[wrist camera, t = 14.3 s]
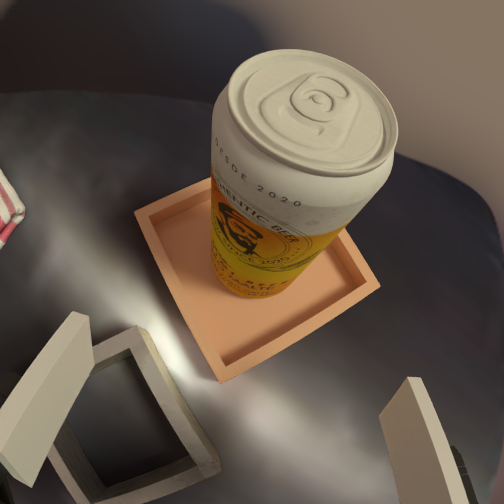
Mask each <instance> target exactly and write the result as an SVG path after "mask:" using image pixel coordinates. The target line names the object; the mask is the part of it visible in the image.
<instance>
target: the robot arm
mask: <svg viewBox="0 0 504 504" xmlns="http://www.w3.org/2000/svg"><path fill="white" fill-rule="evenodd" d="M94 365H95V363H94V356H93V349H92V341H91V333H90V324H89V316H86V315H83V314H80V313H77V312H74V311H72V312H71V313H70V315H69V316H68V317H67V318H66V320H65V321H64V322H63V323H62V325H61V326H60V327H59V328H58V330H57V331H56V332H55V334H54V335H53V336H52V337H51V339H50V340H49V341H48V343H47V344H46V345H45V347H44V348H43V349H42V351H41V352H40V353H39V355H38V356H37V357H36V359H35V360H34V361H33V363H32V364H31V365H30V367H29V368H28V370H27V371H26V372H25V374H24V375H23V377H22V376H20V375H18V374H16V373H14V372H11V373H10V374H8V375H7V376H5V377H3V378H2V379H1V380H0V504H14V501H13V498H12V495H11V492H10V488H9V485H8V482H7V479H6V475H7V473H8V472H9V473H10V474H11V475H12V476H13V477H14V478H15V479H17V480H18V481H20V482H22V483H24V484H26V485H27V486H29V487H31V488H32V486H33V484H34V482H35V480H36V477H37V475H38V473H39V471H40V469H41V467H42V464H43V462H44V460H45V458H46V456H47V454H48V452H49V450H50V448H51V446H52V444H53V442H54V440H55V438H56V436H57V434H58V432H59V430H60V428H61V426H62V424H63V422H64V420H65V418H66V416H67V414H68V412H69V410H70V409H71V407H72V405H73V403H74V401H75V399H76V397H77V396H78V394H79V392H80V390H81V388H82V386H83V385H84V383H85V381H86V379H87V377H88V376H89V374H90V372H91V370H92V369H93V367H94ZM379 419H380V423H381V426H382V430H383V434H384V437H385V441H386V445H387V449H388V453H389V457H390V461H391V465H392V469H393V473H394V477H395V482H396V486H397V491H398V495H399V500H400V504H478V502H477V499H476V496H475V493H474V490H473V487H472V484H471V481H470V478H469V475H467V473H468V472H467V470H466V467H464V465H465V464H464V461H463V459H462V456H461V454H460V453H459V452H458V450H457V449H456V448H455V447H454V446H449V444H448V441H447V439H446V436H445V434H444V431H443V429H442V426H441V424H440V421H439V419H438V416H437V414H436V412H435V409H434V407H433V404H432V402H431V400H430V397H429V395H428V393H427V391H426V388H425V386H424V384H423V382H422V379H421V378H417V377H407V378H406V379H405V381H404V382H403V384H402V385H401V387H400V388H399V389H398V391H397V392H396V394H395V395H394V396H393V398H392V399H391V400H390V402H389V403H388V404H387V406H386V407H385V408H384V410H383V411H382V412H381V414H380V415H379Z"/></svg>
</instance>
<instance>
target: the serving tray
mask: <svg viewBox="0 0 504 504" xmlns="http://www.w3.org/2000/svg"><path fill="white" fill-rule="evenodd" d="M134 214H135V216H136V218H137V221H138V223H139V225H140V228H141V230H142V232H143V234H144V237H145V239H146V241H147V243H148V245H149V248H150V250H151V252H152V254H153V256H154V258H155V261H156V263H157V265H158V267H159V269H160V271H161V273H162V275H163V277H164V279H165V282H166V284H167V286H168V288H169V290H170V292H171V294H172V296H173V298H174V300H175V302H176V304H177V306H178V308H179V310H180V312H181V313H182V315H183V317H184V319H185V321H186V323H187V325H188V327H189V329H190V331H191V333H192V334H193V336H194V338H195V340H196V342H197V344H198V345H199V347H200V349H201V351H202V353H203V355H204V356H205V358H206V360H207V362H208V364H209V365H210V367H211V369H212V371H213V372H214V374H215V376H216V378H217V379H218V381H219V383H220V384H222V383H224V382H226V381H228V380H230V379H232V378H233V377H235V376H237V375H239V374H241V373H243V372H244V371H246V370H248V369H250V368H252V367H253V366H255V365H257V364H259V363H261V362H262V361H264V360H266V359H268V358H269V357H271V356H273V355H274V354H276V353H278V352H280V351H281V350H283V349H285V348H286V347H288V346H290V345H291V344H293V343H295V342H296V341H298V340H300V339H301V338H303V337H304V336H306V335H308V334H309V333H311V332H313V331H314V330H316V329H317V328H319V327H320V326H322V325H324V324H325V323H327V322H328V321H330V320H331V319H333V318H334V317H336V316H338V315H339V314H341V313H342V312H344V311H345V310H347V309H348V308H350V307H351V306H353V305H354V304H356V303H357V302H359V301H360V300H361V299H363V298H364V297H366V296H367V295H369V294H370V293H372V292H373V291H374V290H376V289H377V288H379V287H380V284H379V283H378V281H377V279H376V278H375V276H374V274H373V273H372V271H371V269H370V268H369V266H368V264H367V263H366V261H365V260H364V258H363V256H362V255H361V253H360V252H359V250H358V248H357V247H356V245H355V244H354V242H353V241H352V239H351V237H350V236H349V234H348V233H347V231H346V230H345V228H344V229H343V230H342V231H341V232H340V233H339V234H338V235H337V236H336V237H335V238H334V239H333V240H332V242H331V243H330V244H329V245H328V246H327V247H326V248H325V249H324V250H323V251H322V252H321V253H320V254H319V255H318V256H317V257H316V258H315V260H314V261H313V262H312V263H311V264H310V265H309V266H308V267H307V268H306V269H305V270H304V271H303V272H302V273H301V274H300V275H299V276H298V277H297V278H296V279H295V280H294V281H293V282H292V283H291V284H290V285H289V286H288V287H287V288H286V289H285V290H284V291H282V292H281V293H279V294H277V295H275V296H272V297H268V298H263V299H253V298H247V297H243V296H240V295H238V294H236V293H234V292H232V291H231V290H229V289H228V288H227V287H226V286H225V285H224V284H223V283H222V282H221V281H220V279H219V278H218V276H217V275H216V273H215V271H214V268H213V265H212V260H211V177H210V178H208V179H205V180H203V181H201V182H198V183H196V184H194V185H191V186H189V187H187V188H184V189H182V190H180V191H178V192H175V193H173V194H171V195H169V196H166V197H164V198H162V199H160V200H158V201H156V202H153V203H151V204H149V205H147V206H145V207H143V208H141V209H139V210H136V211H134Z"/></svg>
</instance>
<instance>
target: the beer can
mask: <svg viewBox="0 0 504 504" xmlns="http://www.w3.org/2000/svg"><path fill="white" fill-rule="evenodd" d="M397 137H398V125H397V120H396V116H395V113H394V111H393V109H392V107H391V105H390V103H389V101H388V100H387V98H386V97H385V96H384V94H383V93H382V92H381V90H379V88H378V87H377V86H376V85H375V84H374V83H373V82H372V81H371V80H370V79H368V78H367V77H366V76H365V75H363V74H362V73H361V72H359V71H358V70H356V69H355V68H353V67H351V66H350V65H348V64H346V63H344V62H342V61H339V60H337V59H335V58H332V57H329V56H327V55H324V54H320V53H316V52H312V51H305V50H296V49H282V50H274V51H268V52H264V53H261V54H258V55H256V56H253V57H252V58H250V59H248V60H246V61H245V62H243V63H242V64H241V65H240V66H239V67H238V68H237V69H236V71H235V72H234V73H233V75H232V77H231V79H230V81H229V83H228V85H227V86H226V87H225V89H224V90H223V91H222V92H221V94H220V95H219V97H218V99H217V101H216V103H215V106H214V109H213V116H212V150H211V260H212V265H213V268H214V271H215V273H216V275H217V276H218V278H219V279H220V281H221V282H222V283H223V284H224V285H225V286H226V287H227V288H228V289H229V290H231V291H232V292H234V293H236V294H238V295H240V296H243V297H247V298H253V299H263V298H268V297H272V296H275V295H277V294H279V293H281V292H282V291H284V290H285V289H286V288H287V287H288V286H289V285H290V284H291V283H292V282H293V281H294V280H295V279H296V278H297V277H298V276H299V275H300V274H301V273H302V272H303V271H304V270H305V269H306V268H307V267H308V266H309V265H310V264H311V263H312V262H313V261H314V260H315V258H316V257H317V256H318V255H319V254H320V253H321V252H322V251H323V250H324V249H325V248H326V247H327V246H328V245H329V244H330V243H331V242H332V240H333V239H334V238H335V237H336V236H337V235H338V234H339V233H340V232H341V231H342V230H343V229H344V228H345V226H346V225H347V224H348V223H349V222H350V221H351V220H352V219H353V218H354V217H355V216H356V214H357V213H358V212H359V211H360V210H361V209H362V208H363V207H364V206H365V205H366V203H367V202H368V201H369V200H370V199H371V198H372V197H373V196H374V195H375V193H376V192H377V191H378V190H379V189H380V188H381V187H382V185H383V184H384V183H385V181H386V180H387V178H388V176H389V174H390V172H391V169H392V165H393V158H394V148H395V146H396V142H397Z"/></svg>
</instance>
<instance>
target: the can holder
mask: <svg viewBox="0 0 504 504" xmlns="http://www.w3.org/2000/svg"><path fill="white" fill-rule="evenodd" d="M92 349H93V356H94V363H95V365H94V367H93V369H92V370H91V372H90V374H89V375H91V374H93V373H95V372H97V371H99V370H102V369H104V368H106V367H108V366H110V365H112V364H114V363H116V362H118V361H120V360H122V359H124V358H127V357H129V356H131V355H133V356H134V358H135V360H136V362H137V364H138V366H139V368H140V370H141V372H142V374H143V376H144V378H145V380H146V381H147V383H148V385H149V387H150V389H151V391H152V393H153V394H154V396H155V398H156V400H157V402H158V403H159V405H160V407H161V409H162V410H163V412H164V414H165V415H166V417H167V419H168V420H169V422H170V424H171V425H172V427H173V429H174V430H175V432H176V434H177V435H178V437H179V438H180V440H181V442H182V443H183V445H184V446H185V448H186V449H187V451H188V452H189V454H190V455H188V456H186V457H184V458H182V459H179V460H177V461H175V462H172V463H170V464H168V465H165V466H163V467H160V468H158V469H155V470H153V471H150V472H148V473H145V474H142V475H140V476H137V477H134V478H131V479H129V480H126V481H123V482H120V483H117V484H114V485H111V486H108V487H106V486H105V485H104V483H103V482H102V480H101V479H100V477H99V476H98V474H97V473H96V471H95V469H94V468H93V466H92V465H91V463H90V461H89V460H88V458H87V456H86V455H85V453H84V451H83V450H82V448H81V446H80V444H79V442H78V441H77V439H76V437H75V435H74V433H73V432H72V430H71V428H70V426H69V424H68V422H67V420H66V418H65V420H64V422H63V424H62V426H61V428H60V430H59V432H58V434H57V436H56V438H55V440H54V442H53V444H52V446H51V448H50V450H49V452H48V454H47V456H48V458H49V460H50V462H51V463H52V465H53V467H54V468H55V470H56V472H57V473H58V475H59V477H60V478H61V480H62V482H63V483H64V485H65V486H66V488H67V489H68V491H69V492H70V494H71V495H72V497H73V498H74V500H75V501H76V503H77V504H143V503H146V502H149V501H151V500H154V499H157V498H160V497H163V496H165V495H168V494H171V493H173V492H176V491H178V490H181V489H183V488H186V487H188V486H191V485H193V484H195V483H198V482H200V481H202V480H205V479H207V478H209V477H211V476H213V475H216V474H218V473H220V472H221V464H220V455H219V454H218V452H217V451H216V449H215V448H214V446H213V445H212V443H211V442H210V440H209V439H208V437H207V436H206V434H205V432H204V431H203V429H202V428H201V426H200V424H199V423H198V421H197V420H196V418H195V416H194V415H193V413H192V411H191V410H190V408H189V406H188V404H187V403H186V401H185V399H184V398H183V396H182V394H181V392H180V391H179V389H178V387H177V385H176V384H175V382H174V380H173V378H172V376H171V374H170V373H169V371H168V369H167V367H166V365H165V363H164V361H163V360H162V358H161V356H160V354H159V352H158V350H157V348H156V346H155V344H154V342H153V340H152V338H151V336H150V334H149V332H148V331H147V330H145V329H143V328H141V327H139V326H137V325H136V326H134V327H132V328H130V329H128V330H126V331H124V332H122V333H120V334H118V335H116V336H114V337H112V338H109V339H107V340H105V341H103V342H101V343H99V344H97V345H95V346H93V347H92Z"/></svg>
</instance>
